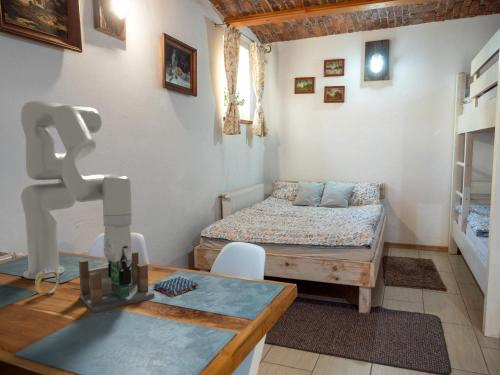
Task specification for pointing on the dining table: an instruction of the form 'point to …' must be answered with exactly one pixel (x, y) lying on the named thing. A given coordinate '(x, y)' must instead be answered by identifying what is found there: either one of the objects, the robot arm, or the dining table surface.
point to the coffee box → (116, 288)
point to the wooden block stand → (100, 289)
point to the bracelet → (43, 276)
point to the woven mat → (175, 286)
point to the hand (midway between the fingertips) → (119, 280)
